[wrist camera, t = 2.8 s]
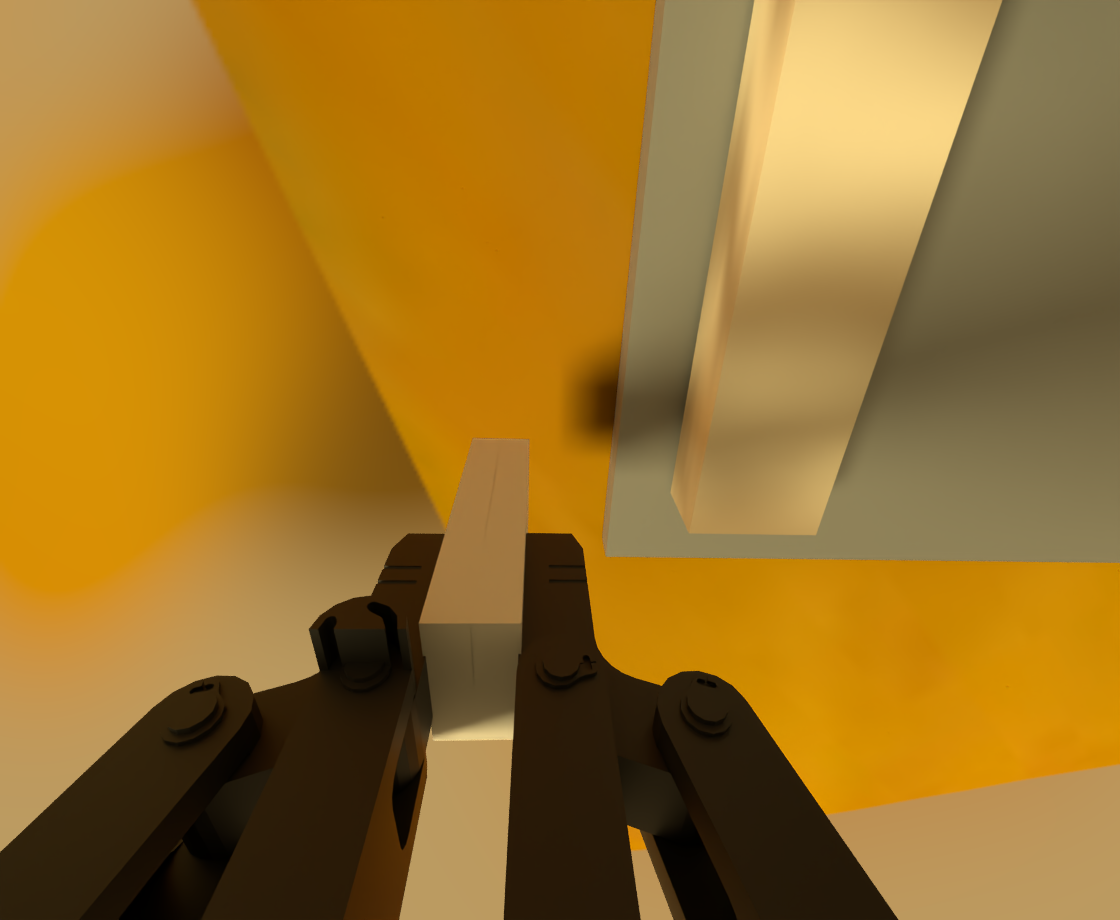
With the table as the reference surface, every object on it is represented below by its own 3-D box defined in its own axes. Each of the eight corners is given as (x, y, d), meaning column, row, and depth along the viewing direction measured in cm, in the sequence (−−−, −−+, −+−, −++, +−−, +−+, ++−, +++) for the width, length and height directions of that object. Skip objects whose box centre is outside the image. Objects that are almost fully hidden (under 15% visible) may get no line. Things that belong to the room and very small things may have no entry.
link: (809, -534, 8) (908, -809, 6) (1109, -497, 8) (1311, -748, 6) (653, 492, 17) (669, 533, 15) (798, 495, 17) (834, 535, 15)
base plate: (1879, -534, 9) (2056, -633, 8) (1117, 544, 20) (1148, 562, 19) (724, -693, 8) (754, -833, 7) (602, 537, 19) (605, 556, 18)
